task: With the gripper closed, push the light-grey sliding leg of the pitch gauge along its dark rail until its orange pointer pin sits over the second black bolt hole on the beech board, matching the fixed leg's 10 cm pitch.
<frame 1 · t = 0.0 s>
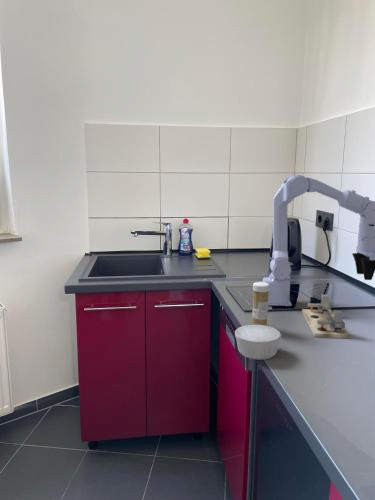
hand: (364, 276, 133), 10 cm above the worktop, tool pointing down, fingers open, 7 cm apart
ramekin: (256, 352, 100), on the worktop
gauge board: (323, 323, 118), on the worktop
sliding leg: (318, 303, 125), point 4 cm above the worktop, slide at 0.0 cm
fixed leg: (336, 333, 111), resting on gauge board
sprinkles bottle: (259, 328, 115), on the worktop
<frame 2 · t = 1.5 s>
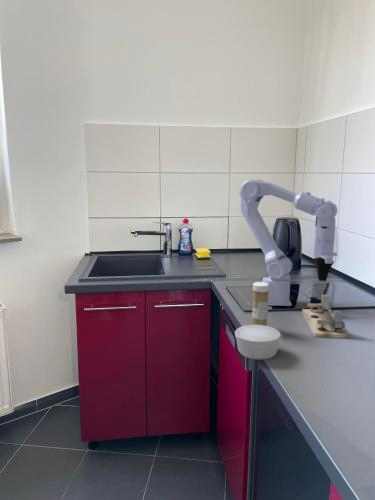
hand: (322, 280, 129), 10 cm above the worktop, tool pointing down, fingers closed
nothing on the worktop moved.
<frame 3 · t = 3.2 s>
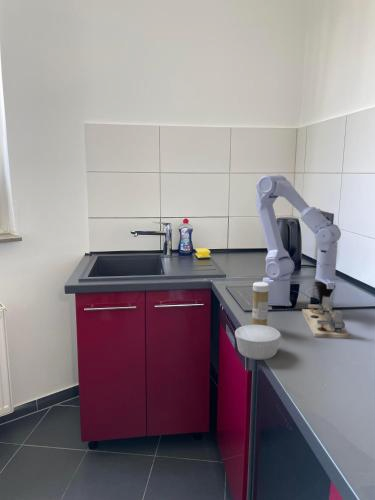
hand: (323, 304, 126), 3 cm above the worktop, tool pointing down, fingers closed
sliding leg: (319, 304, 124), point 4 cm above the worktop, slide at 1.0 cm, touching gripper
everything else where it was.
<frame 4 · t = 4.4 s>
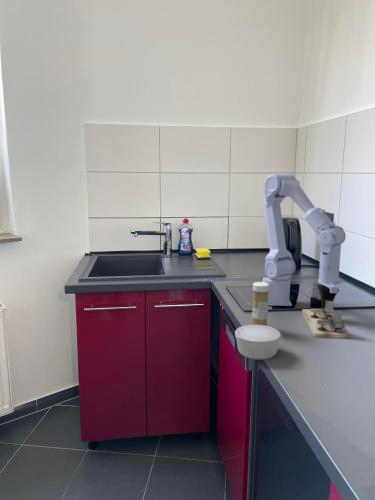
hand: (326, 308, 122), 3 cm above the worktop, tool pointing down, fingers closed
sliding leg: (322, 308, 120), point 4 cm above the worktop, slide at 5.1 cm, touching gripper
everything else where it was.
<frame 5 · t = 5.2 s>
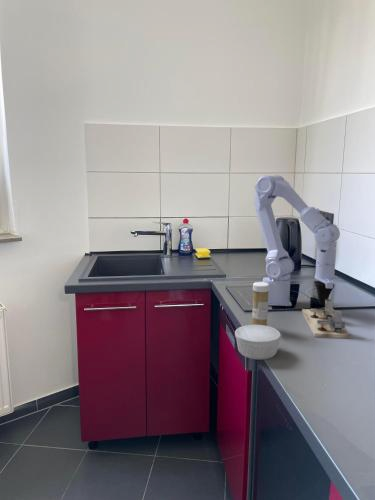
hand: (322, 303, 127), 3 cm above the worktop, tool pointing down, fingers closed
sliding leg: (322, 308, 120), point 4 cm above the worktop, slide at 5.1 cm
everything else where it was.
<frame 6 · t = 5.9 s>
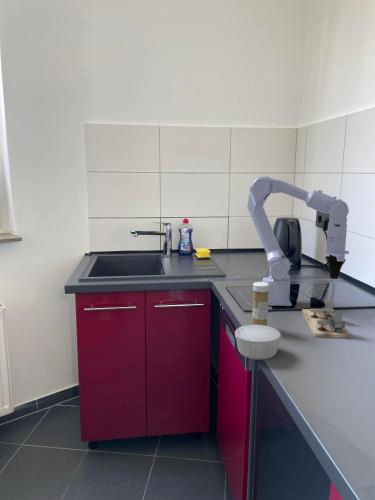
hand: (333, 278, 130), 10 cm above the worktop, tool pointing down, fingers closed
nothing on the worktop moved.
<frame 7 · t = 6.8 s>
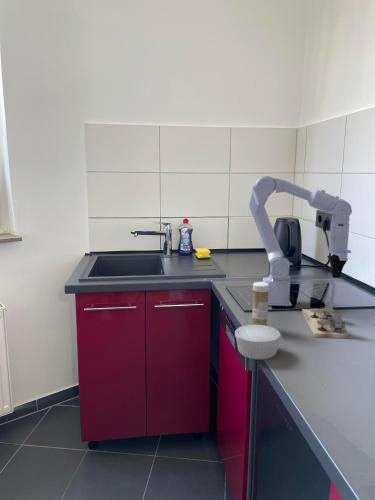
hand: (335, 277, 131), 10 cm above the worktop, tool pointing down, fingers closed
nothing on the worktop moved.
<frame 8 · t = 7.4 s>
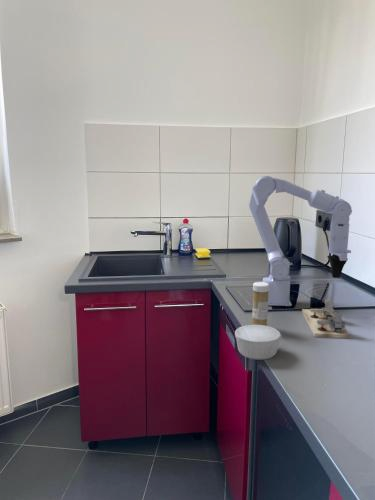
hand: (335, 277, 131), 10 cm above the worktop, tool pointing down, fingers closed
nothing on the worktop moved.
at the end: sliding leg slide at 5.1 cm; sliding leg touching nothing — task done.
